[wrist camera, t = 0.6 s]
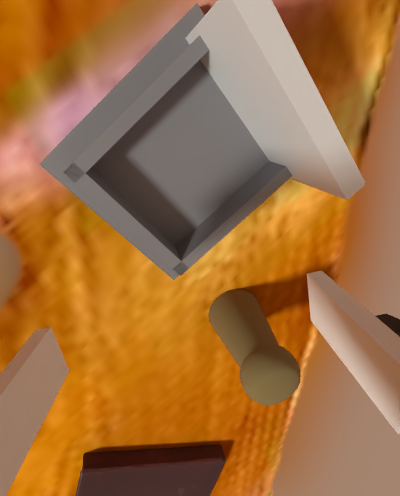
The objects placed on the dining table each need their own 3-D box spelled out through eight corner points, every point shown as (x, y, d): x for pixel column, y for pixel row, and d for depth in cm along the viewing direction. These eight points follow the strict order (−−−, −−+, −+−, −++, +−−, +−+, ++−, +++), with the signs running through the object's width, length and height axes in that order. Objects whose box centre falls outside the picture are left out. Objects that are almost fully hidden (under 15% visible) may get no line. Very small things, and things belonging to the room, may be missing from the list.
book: (84, 447, 38) (81, 475, 35) (220, 440, 44) (227, 463, 41) (72, 505, 42) (68, 534, 39) (197, 491, 48) (202, 515, 46)
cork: (200, 328, 34) (233, 415, 24) (220, 284, 32) (264, 359, 22) (245, 335, 36) (292, 417, 26) (266, 294, 34) (324, 366, 24)
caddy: (172, 274, 30) (195, 346, 21) (42, 161, 23) (-10, 194, 14) (293, 164, 28) (378, 189, 19) (193, 8, 21) (248, -72, 12)
